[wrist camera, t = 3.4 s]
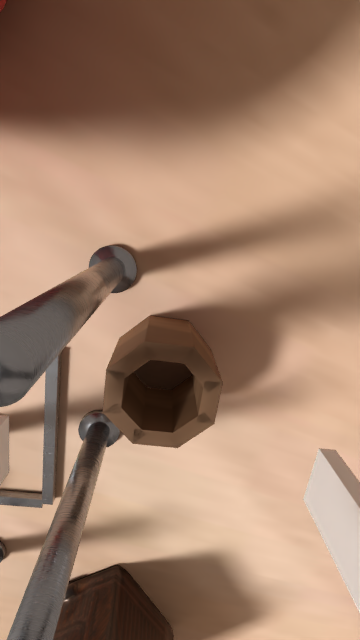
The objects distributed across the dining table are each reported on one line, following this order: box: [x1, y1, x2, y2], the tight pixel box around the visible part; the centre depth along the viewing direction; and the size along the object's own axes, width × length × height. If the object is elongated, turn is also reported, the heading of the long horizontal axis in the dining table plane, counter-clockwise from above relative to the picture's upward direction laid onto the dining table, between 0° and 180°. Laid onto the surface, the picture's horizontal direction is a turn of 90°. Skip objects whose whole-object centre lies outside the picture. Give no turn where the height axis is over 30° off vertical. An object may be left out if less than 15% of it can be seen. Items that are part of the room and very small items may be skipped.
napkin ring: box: [103, 316, 222, 448], centre depth 20 cm, size 6×6×5 cm
